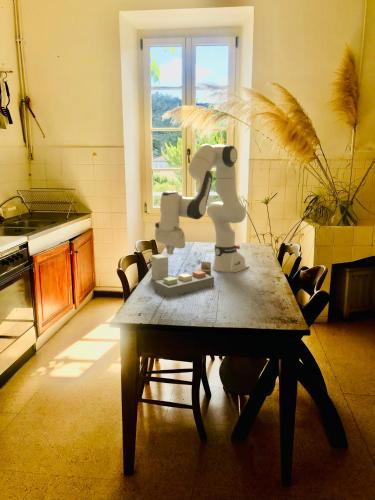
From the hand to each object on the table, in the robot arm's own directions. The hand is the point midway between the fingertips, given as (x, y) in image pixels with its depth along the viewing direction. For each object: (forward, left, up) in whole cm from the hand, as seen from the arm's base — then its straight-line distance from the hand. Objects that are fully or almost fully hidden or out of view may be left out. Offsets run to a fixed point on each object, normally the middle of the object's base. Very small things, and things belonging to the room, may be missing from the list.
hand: (170, 254), depth 188 cm
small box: (-6, -19, -19) cm, 27 cm away
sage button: (0, 0, -16) cm, 16 cm away
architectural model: (-32, -12, -20) cm, 39 cm away
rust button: (-18, 0, -16) cm, 24 cm away
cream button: (-9, 0, -16) cm, 19 cm away
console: (-9, 0, -19) cm, 21 cm away
